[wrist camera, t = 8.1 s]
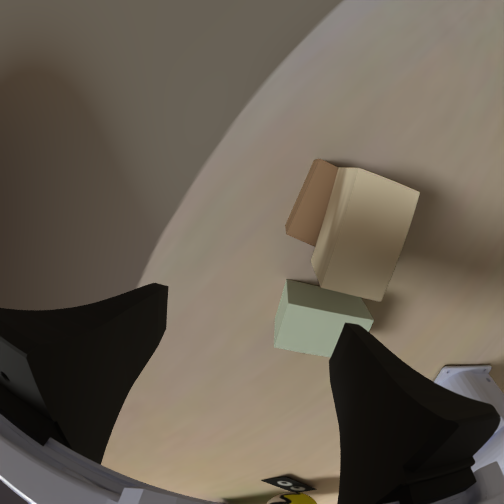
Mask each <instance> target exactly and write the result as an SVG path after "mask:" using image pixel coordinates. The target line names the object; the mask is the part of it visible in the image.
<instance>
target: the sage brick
mask: <svg viewBox="0 0 504 504" xmlns="http://www.w3.org/2000/svg"><path fill="white" fill-rule="evenodd" d="M373 321H374V319H373V318H372V316H371V314H370V312H369V310H368V309H367V307H366V305H365V304H364V302H363V300H362V298H361V297H357V296H353V295H349V294H345V293H341V292H337V291H333V290H329V289H325V288H321V287H319V286H315V285H310V284H306V283H302V282H297V281H293V280H288V279H286V283H285V286H284V290H283V293H282V297H281V300H280V303H279V307H278V310H277V313H276V317H275V333H274V347H275V348H280V349H285V350H290V351H296V352H301V353H307V354H313V355H319V356H325V357H331V356H332V353H333V351H334V349H335V346H336V344H337V341H338V339H339V337H340V334H341V332H342V329H343V327H344V324H345V322H346V323H353V324H359V325H360V326H362V327H363V328H364V329H366V330H367V331H368V332H369V330H370V328H371V326H372V324H373Z"/></svg>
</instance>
